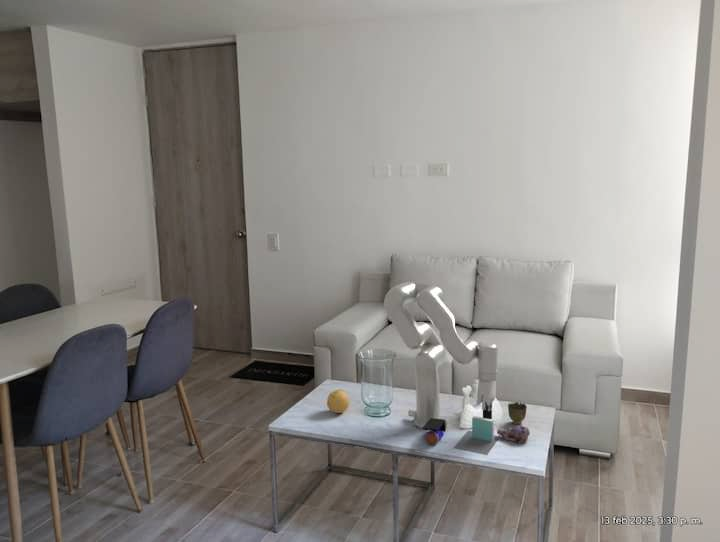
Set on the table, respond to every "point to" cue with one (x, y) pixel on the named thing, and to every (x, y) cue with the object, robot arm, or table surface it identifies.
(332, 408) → the orange fruit
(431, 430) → the figurine character
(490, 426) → the tile
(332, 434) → the table surface
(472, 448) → the mat
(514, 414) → the cup
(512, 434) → the skull
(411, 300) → the robot arm
